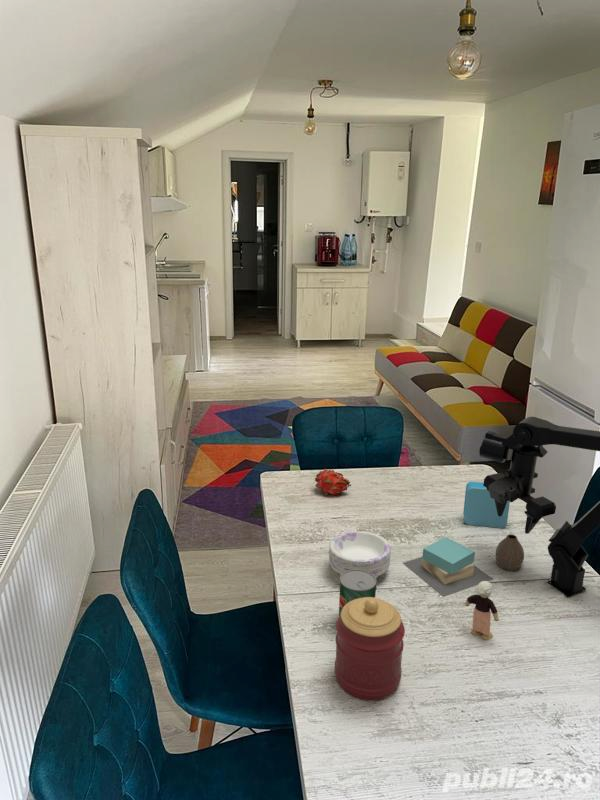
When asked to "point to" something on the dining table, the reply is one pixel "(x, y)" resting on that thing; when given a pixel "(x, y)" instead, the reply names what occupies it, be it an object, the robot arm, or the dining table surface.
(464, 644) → the dining table surface
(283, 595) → the dining table surface
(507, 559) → the vase
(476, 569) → the charcoal mat
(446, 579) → the beech block
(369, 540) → the paper bowls
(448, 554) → the teal block
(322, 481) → the dragon fruit
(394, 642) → the canister
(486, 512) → the light blue flat block
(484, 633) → the grandmother figurine
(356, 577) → the canned tomato
